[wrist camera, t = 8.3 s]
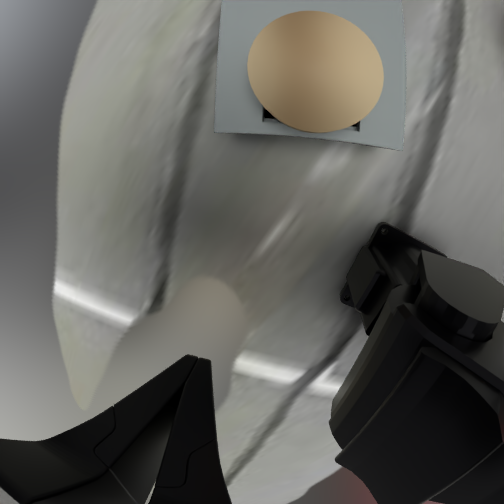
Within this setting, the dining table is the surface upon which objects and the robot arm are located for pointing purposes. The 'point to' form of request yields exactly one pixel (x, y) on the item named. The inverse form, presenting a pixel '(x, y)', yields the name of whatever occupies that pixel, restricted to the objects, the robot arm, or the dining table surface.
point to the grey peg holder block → (338, 3)
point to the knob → (315, 71)
